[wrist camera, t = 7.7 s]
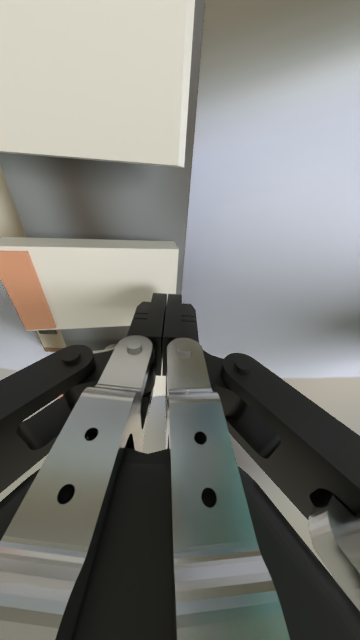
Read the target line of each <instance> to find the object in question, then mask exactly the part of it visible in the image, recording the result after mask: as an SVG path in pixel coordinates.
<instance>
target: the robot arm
mask: <svg viewBox="0 0 360 640" xmlns="http://www.w3.org/2000/svg"><path fill="white" fill-rule="evenodd" d="M162 360H163V367H162ZM161 369H162V376H166V390H165V399H166V400H165V401H166V450H162V451H158V452H155V453H150V454H145V453H142V450H143V439H144V433H145V428H146V422H147V419H148V414H149V410H150V405H151V400H152V396H153V390H154V385H155V378H156V376H161ZM62 394H63V396H62V397H60V398H59V399H57V400H56V401H54V402H53V403H51V404H50V405H48V406H47V407H45V408H44V409H43V410H41V411H40V412H38V413H37V414H35V415H34V416H32V417H31V418H29V419H28V420H26V421H23V420H24V419H26V418H27V417H29V416H30V415H32V414H33V413H35V412H36V411H38V410H39V409H40V408H42V407H44V406H45V405H47V404H48V403H50V402H51V401H53V400H54V399H56V398H57V397H59V396H60V395H62ZM22 421H23V422H22ZM229 433H230V434H231V435H232V436H233V438H234V439H235V440H236V441H237V442H238V443H239V444H240V445H241V446H242V448H243V449H244V450H245V451H246V452H247V453H248V454H249V455H250V456H251V457H252V458H253V460H254V461H255V462H256V463H257V464H258V465H259V466H260V467H261V468H262V470H263V471H264V472H265V473H266V474H267V475H268V476H269V477H270V478H271V480H272V481H273V482H274V483H275V484H276V485H277V486H278V487H279V488H280V489H281V491H282V492H283V493H284V494H285V495H286V496H287V497H288V498H289V499H290V501H291V502H292V503H293V504H294V505H295V506H296V507H297V508H298V509H299V511H300V512H301V513H302V514H303V515H304V516H305V517H306V518H307V519H308V527H309V533H310V537H311V540H312V545H313V548H314V549H315V551H316V553H317V554H318V556H319V557H320V558H321V560H322V561H323V563H324V564H325V565H326V567H327V568H328V569H329V571H330V572H331V574H332V576H333V577H334V578H333V577H332V576H331V575H330V573H329V572H328V571H327V570H326V569H325V567H324V566H323V565H322V564H321V562H320V561H319V560H318V559H317V557H316V556H315V555H314V554H313V552H312V551H311V550H310V549H309V547H308V546H307V545H306V544H305V542H304V541H303V540H302V539H301V538H300V536H299V535H298V534H297V532H296V531H295V530H294V529H293V527H292V526H291V525H290V524H289V522H288V521H287V520H286V519H285V518H284V516H283V515H282V514H281V513H280V511H279V510H278V509H277V508H276V506H275V505H274V504H273V503H272V501H271V500H270V499H269V498H268V496H267V495H266V494H265V493H264V491H263V490H262V489H261V488H260V486H259V485H258V484H257V483H256V482H255V481H254V480H253V479H252V478H251V477H250V476H249V475H248V474H247V473H246V472H245V471H243V470H242V469H241V468H240V467H238V466H237V462H236V458H235V455H234V450H233V446H232V443H231V439H230V435H229ZM48 453H49V454H48ZM47 454H48V456H47V458H46V459H45V461H44V463H43V465H42V467H41V468H40V469H39V470H38V471H36V472H35V473H34V474H32V475H31V476H30V477H28V478H27V479H26V480H25V481H24V482H22V483H21V484H20V485H19V486H18V487H17V488H16V489H15V490H13V491H12V492H11V493H10V494H9V495H8V496H7V497H5V498H4V499H3V500H2V501H1V502H0V640H360V436H359V435H358V434H356V433H355V432H353V431H352V430H351V429H349V428H348V427H346V426H345V425H344V424H342V423H341V422H340V421H338V420H337V419H335V418H334V417H333V416H331V415H330V414H329V413H327V412H326V411H325V410H323V409H322V408H321V407H319V406H318V405H316V404H315V403H314V402H312V401H311V400H309V399H308V398H307V397H305V396H304V395H303V394H301V393H300V392H299V391H297V390H296V389H294V388H293V387H292V386H290V385H289V384H288V383H286V382H285V381H283V380H282V379H281V378H279V377H278V376H277V375H275V374H274V373H273V372H271V371H270V370H268V369H267V368H266V367H264V366H263V365H262V364H260V363H259V362H257V361H256V360H255V359H253V358H252V357H250V356H248V355H245V354H241V353H233V354H230V355H228V356H226V357H225V359H221V358H218V357H215V356H212V355H210V354H208V353H206V352H205V351H204V350H203V349H202V347H201V345H200V344H199V339H198V330H197V322H196V311H195V309H194V307H193V306H192V305H191V304H182V296H181V294H168V298H167V294H165V293H153V295H152V300H151V302H144V301H143V302H142V303H140V304H139V305H138V306H137V308H136V311H135V314H134V316H133V319H132V322H131V325H130V328H129V331H128V334H127V337H125V338H123V339H122V340H120V341H119V342H118V344H117V345H116V347H115V349H113V350H110V351H105V352H100V353H94V354H93V351H92V350H91V349H90V348H89V347H88V346H85V345H71V346H68V347H65V348H63V349H61V350H59V351H57V352H55V353H53V354H51V355H49V356H47V357H45V358H43V359H41V360H39V361H37V362H35V363H34V364H32V365H30V366H28V367H26V368H24V369H22V370H20V371H18V372H16V373H14V374H12V375H10V376H8V377H6V378H5V379H3V380H1V381H0V493H1V492H2V491H3V490H4V489H6V488H7V487H8V486H9V485H11V484H12V483H13V482H14V481H15V480H17V479H18V478H19V477H20V476H21V475H23V474H24V473H25V472H26V471H28V470H29V469H30V468H31V467H32V466H34V465H35V464H36V463H37V462H39V461H40V460H41V459H42V458H43V457H44V456H46V455H47ZM334 579H335V580H334Z"/></svg>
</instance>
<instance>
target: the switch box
mask: <svg viewBox="0 0 360 640" xmlns="http://www.w3.org/2000/svg"><path fill="white" fill-rule="evenodd" d="M204 11H205V0H195V9H194V24H193V40H192V55H191V70H190V86H189V101H188V116H187V131H186V147H185V162H184V168H182V167H169V166H157V165H145V164H133V163H121V162H109V161H97V160H85V159H73V158H60V157H48V156H36V155H24V154H12V153H0V238H2V237H26V238H65V239H105V240H144V241H174V242H175V243H176V245H177V247H178V249H179V254H178V270H177V285H176V294H181V289H182V277H183V265H184V252H185V240H186V228H187V216H188V204H189V192H190V180H191V168H192V156H193V144H194V132H195V120H196V107H197V95H198V83H199V71H200V59H201V47H202V35H203V23H204ZM129 328H130V326H115V327H96V328H77V329H57V330H38V331H36V332H37V334H38V336H39V339H40V341H41V343H42V345H43V347H44V350H45V351H50V352H57V351H59V350H61V349H63V348H65V347H68V346H71V345H85V346H88V347H89V348H90V349H91V350H92V351H96V350H104V349H105V348H106V347H107V346H109V345H112V344H118V342H119V341H120V340H122V339H123V338H125V337H127V334H128V331H129Z"/></svg>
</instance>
